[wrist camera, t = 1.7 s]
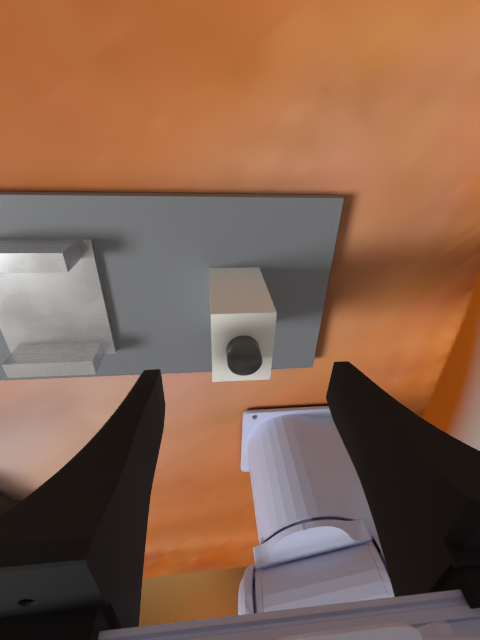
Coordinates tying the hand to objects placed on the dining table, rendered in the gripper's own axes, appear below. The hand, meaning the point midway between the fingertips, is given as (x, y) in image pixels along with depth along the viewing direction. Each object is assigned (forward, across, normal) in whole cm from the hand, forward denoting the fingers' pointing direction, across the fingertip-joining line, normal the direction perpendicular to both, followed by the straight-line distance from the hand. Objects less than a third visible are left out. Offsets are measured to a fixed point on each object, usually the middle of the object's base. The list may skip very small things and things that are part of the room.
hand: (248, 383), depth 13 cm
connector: (+8, 0, 0) cm, 8 cm away
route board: (+9, +5, 0) cm, 10 cm away
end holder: (+9, +11, 0) cm, 14 cm away
